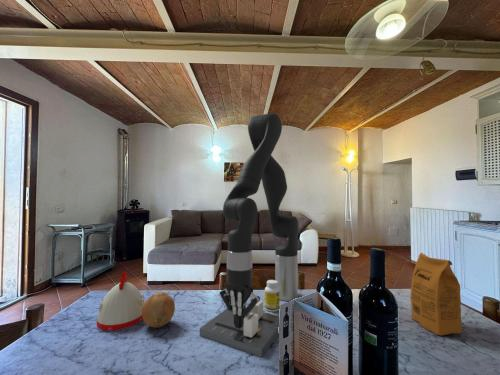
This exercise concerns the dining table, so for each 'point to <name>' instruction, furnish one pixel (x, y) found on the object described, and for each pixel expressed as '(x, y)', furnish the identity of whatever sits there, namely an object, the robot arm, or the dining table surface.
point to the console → (242, 332)
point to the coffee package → (436, 296)
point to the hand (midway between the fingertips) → (239, 326)
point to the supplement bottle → (272, 296)
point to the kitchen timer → (120, 306)
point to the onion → (158, 310)
